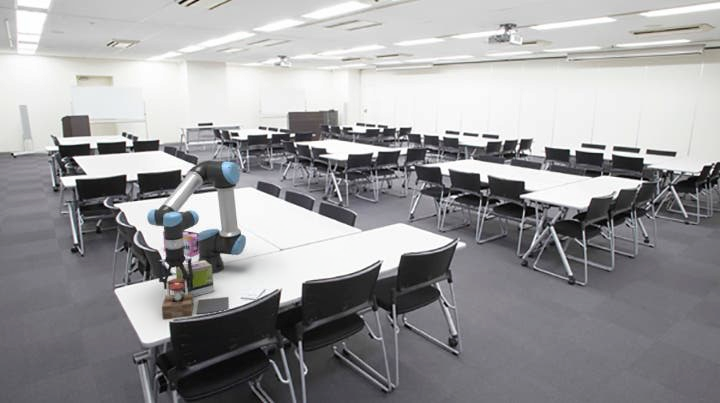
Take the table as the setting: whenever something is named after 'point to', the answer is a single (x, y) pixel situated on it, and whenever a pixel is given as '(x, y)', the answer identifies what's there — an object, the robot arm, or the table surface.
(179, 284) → the copper round-headed piece
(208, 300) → the rubber mat
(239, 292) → the table surface
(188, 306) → the eye block
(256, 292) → the external hard drive
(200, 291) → the tea box
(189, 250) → the gum box
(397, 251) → the table surface
